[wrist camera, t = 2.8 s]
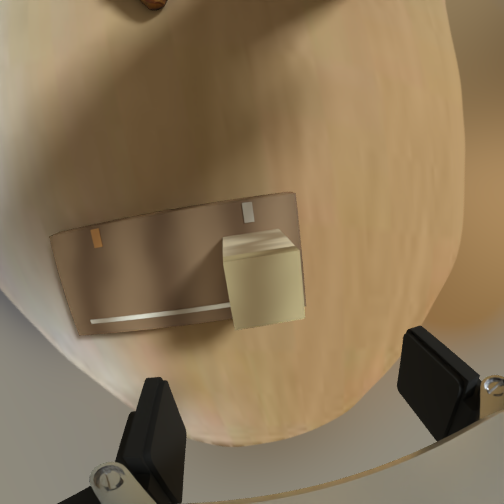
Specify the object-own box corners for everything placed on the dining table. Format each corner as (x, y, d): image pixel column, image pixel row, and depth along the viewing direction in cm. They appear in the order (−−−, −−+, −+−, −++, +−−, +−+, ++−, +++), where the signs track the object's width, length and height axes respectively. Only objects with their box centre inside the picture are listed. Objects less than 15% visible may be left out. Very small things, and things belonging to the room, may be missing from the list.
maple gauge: (278, 228, 25) (299, 250, 18) (284, 281, 26) (305, 318, 20) (222, 237, 25) (222, 262, 18) (231, 290, 26) (234, 330, 19)
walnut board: (290, 191, 26) (295, 193, 24) (300, 297, 29) (306, 306, 27) (59, 232, 25) (48, 236, 23) (86, 326, 28) (79, 336, 26)
